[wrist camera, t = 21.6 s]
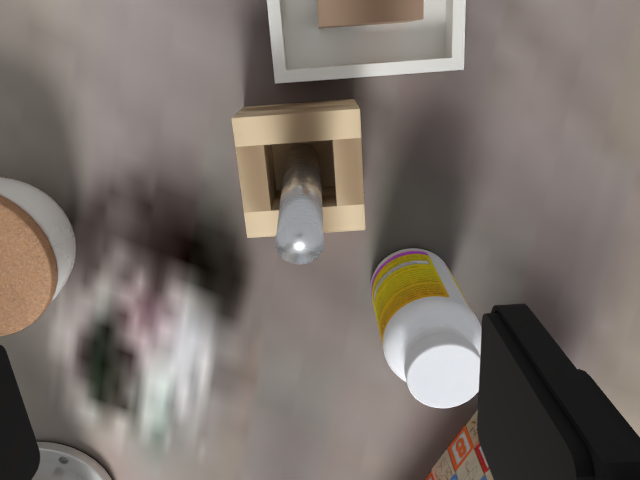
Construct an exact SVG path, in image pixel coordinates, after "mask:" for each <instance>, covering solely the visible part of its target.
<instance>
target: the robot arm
mask: <svg viewBox="0 0 640 480" xmlns="http://www.w3.org/2000/svg"><path fill="white" fill-rule="evenodd" d="M477 432H478V439H479V443H480V446H481V449H482V451H483V454H484V456H485V459H486V461H487V464H488V466H489V469H490V472H491V474H492V477H493V479H494V480H640V437H639V436H638V435H637V434H636V432H635V431H634V430H633V429H632V427H631V426H630V425H629V424H628V422H627V421H626V420H625V419H624V417H623V416H622V415H621V414H620V413H619V411H618V410H617V409H616V408H615V406H614V405H613V404H612V403H611V401H610V400H609V399H608V398H607V396H606V395H605V394H604V393H603V391H602V390H601V389H600V388H599V387H598V385H597V384H596V383H595V382H594V380H593V379H592V378H591V377H590V376H589V375H588V374H587V373H586V372H585V371H583V370H580V369H576V367H575V366H574V365H573V364H572V362H571V361H570V360H569V358H568V357H567V356H566V355H565V353H564V352H563V351H562V350H561V348H560V347H559V346H558V344H557V343H556V342H555V341H554V339H553V338H552V337H551V336H550V334H549V333H548V332H547V330H546V329H545V328H544V327H543V325H542V324H541V323H540V322H539V320H538V319H537V318H536V316H535V315H534V314H533V313H532V311H531V310H530V309H529V308H528V306H527V305H525V304H511V305H495V306H494V307H493V308H492V311H491V313H488V314H484V315H483V318H482V332H481V353H480V374H479V396H478V417H477ZM0 480H112V479H111V477H110V476H109V475H108V473H107V472H106V471H105V469H104V468H103V467H102V466H101V465H99V464H98V463H97V462H96V461H95V460H94V459H92V458H91V457H89V456H88V455H86V454H85V453H83V452H80V451H78V450H76V449H74V448H71V447H68V446H65V445H62V444H56V443H50V442H36V439H35V436H34V433H33V430H32V427H31V424H30V421H29V418H28V415H27V412H26V409H25V406H24V403H23V400H22V397H21V394H20V391H19V388H18V385H17V382H16V379H15V376H14V373H13V370H12V367H11V364H10V361H9V358H8V355H7V352H6V350H5V348H4V347H3V346H2V345H0Z"/></svg>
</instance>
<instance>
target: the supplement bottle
mask: <svg viewBox="0 0 640 480" xmlns="http://www.w3.org/2000/svg"><path fill="white" fill-rule="evenodd" d="M371 296H372V301H373V305H374V310H375V314H376V318H377V323H378V327H379V332H380V336H381V341H382V346H383V351H384V354H385V358H386V360H387V362H388V364H389V366H390V368H391V369H392V370H393V372H394V373H395V374H396V375H397V376H398V377H400V378H401V379H402V380H404V381H405V382H407V385H408V388H409V390H410V392H411V393H412V395H413V396H414V397H415V398H416V399H417V400H418V401H420V402H421V403H423V404H425V405H427V406H430V407H434V408H451V407H455V406H458V405H461V404H463V403H465V402H467V401H468V400H470V399H471V398H472V397H473V396H475V395H476V393H477V392H478V391H479V374H480V353H481V332H482V327H481V325H480V323H479V321H478V319H477V317H476V315H475V314H474V312H473V310H472V309H471V307H470V305H469V303H468V302H467V300H466V298H465V296H464V295H463V293H462V291H461V289H460V288H459V286H458V284H457V282H456V280H455V279H454V277H453V275H452V273H451V272H450V270H449V268H448V267H447V265H446V264H445V263H444V261H443V260H442V259H441V258H440V257H438V256H437V255H435V254H434V253H432V252H430V251H427V250H423V249H417V248H409V249H403V250H399V251H397V252H394V253H392V254H391V255H389V256H388V257H386V258H385V259H384V260H383V261H382V262H381V263H380V264H379V265H378V267H377V268H376V270H375V272H374V274H373V277H372V280H371Z"/></svg>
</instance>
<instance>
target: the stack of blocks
mask: <svg viewBox="0 0 640 480" xmlns="http://www.w3.org/2000/svg"><path fill="white" fill-rule="evenodd" d="M477 417H478V410H477V411H476V412H475V414H474V415H473V416H472V418H471V419H470V420H469V422H468V423H467V424H466V425H465V426H464V427H463V428H462V430H461V431H460V432H459V433H458V435H457V436H456V437H455V439H454V440H453V441H452V443H451V444H450V445H449V447H448V449H447V450H446V451H445V452H444V453H443V454H442V456H441V457H440V459H439V460H438V461H437V463H436V464H435V465H434V467H433V468H432V470H431V473H430V474H429V475H428V477H427V478H426V480H494V479H493V477H492V474H491V472H490V469H489V466H488V464H487V461H486V459H485V456H484V454H483V451H482V449H481V446H480V443H479V439H478V432H477Z"/></svg>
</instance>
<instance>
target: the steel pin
mask: <svg viewBox="0 0 640 480" xmlns="http://www.w3.org/2000/svg"><path fill="white" fill-rule="evenodd" d="M275 245H276V249H277V252H278V253H279V255H280V256H281V257H282V258H283V259H284V260H286V261H288V262H290V263H294V264H306V263H309V262H312V261H314V260H315V259H316V258H318V257H319V255H320V254H321V253H322V251H323V247H324V234H323V210H322V187H321V164H320V156H319V154H318V152H317V151H316V150H315V149H314V148H313V147H311V146H309V145H305V144H300V145H296V146H294V147H292V148H291V149H290V150H289V151H288V152H287V154H286V157H285V164H284V173H283V181H282V190H281V198H280V207H279V216H278V224H277V233H276V241H275Z"/></svg>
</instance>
